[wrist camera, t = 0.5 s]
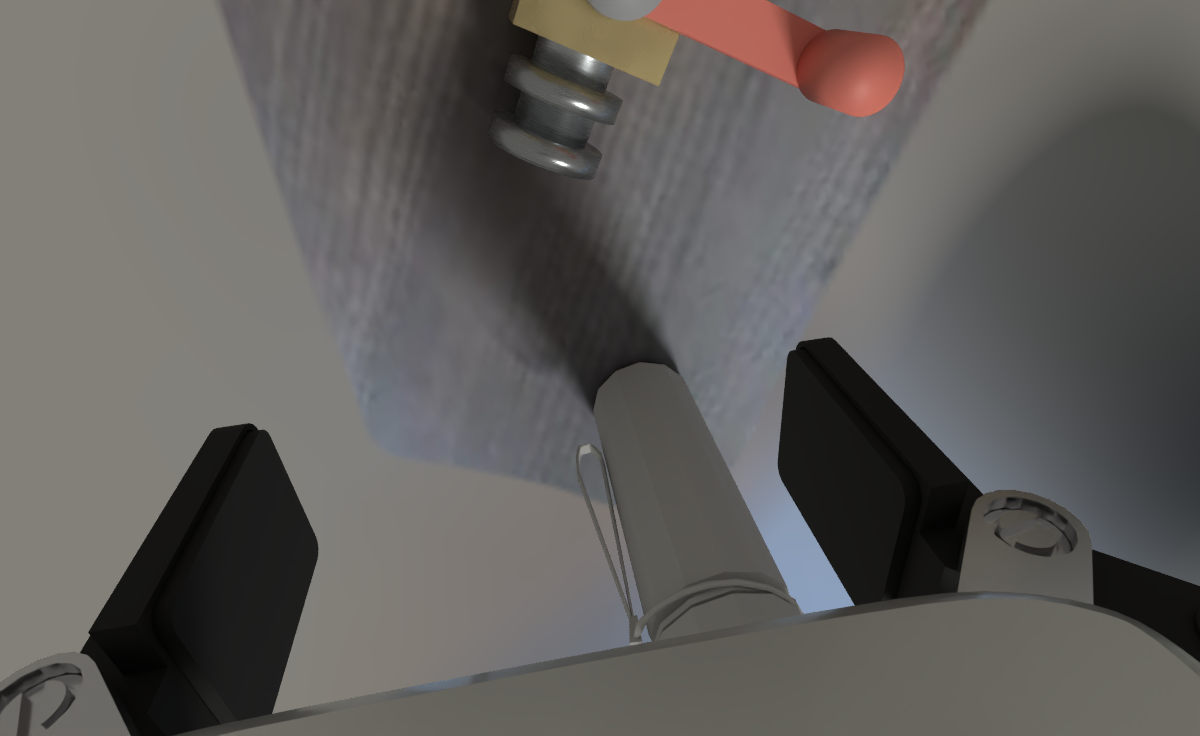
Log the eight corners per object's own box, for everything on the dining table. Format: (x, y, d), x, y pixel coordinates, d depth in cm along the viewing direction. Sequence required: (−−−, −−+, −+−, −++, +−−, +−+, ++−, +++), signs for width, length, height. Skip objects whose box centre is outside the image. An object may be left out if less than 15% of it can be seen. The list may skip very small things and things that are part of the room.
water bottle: (687, 345, 45) (865, 664, 24) (687, 433, 49) (838, 771, 28) (559, 362, 44) (626, 709, 23) (570, 450, 48) (634, 813, 27)
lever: (564, -2, 27) (578, 0, 22) (594, -100, 25) (616, -117, 21) (820, 114, 31) (873, 134, 27) (860, 36, 29) (923, 45, 25)
